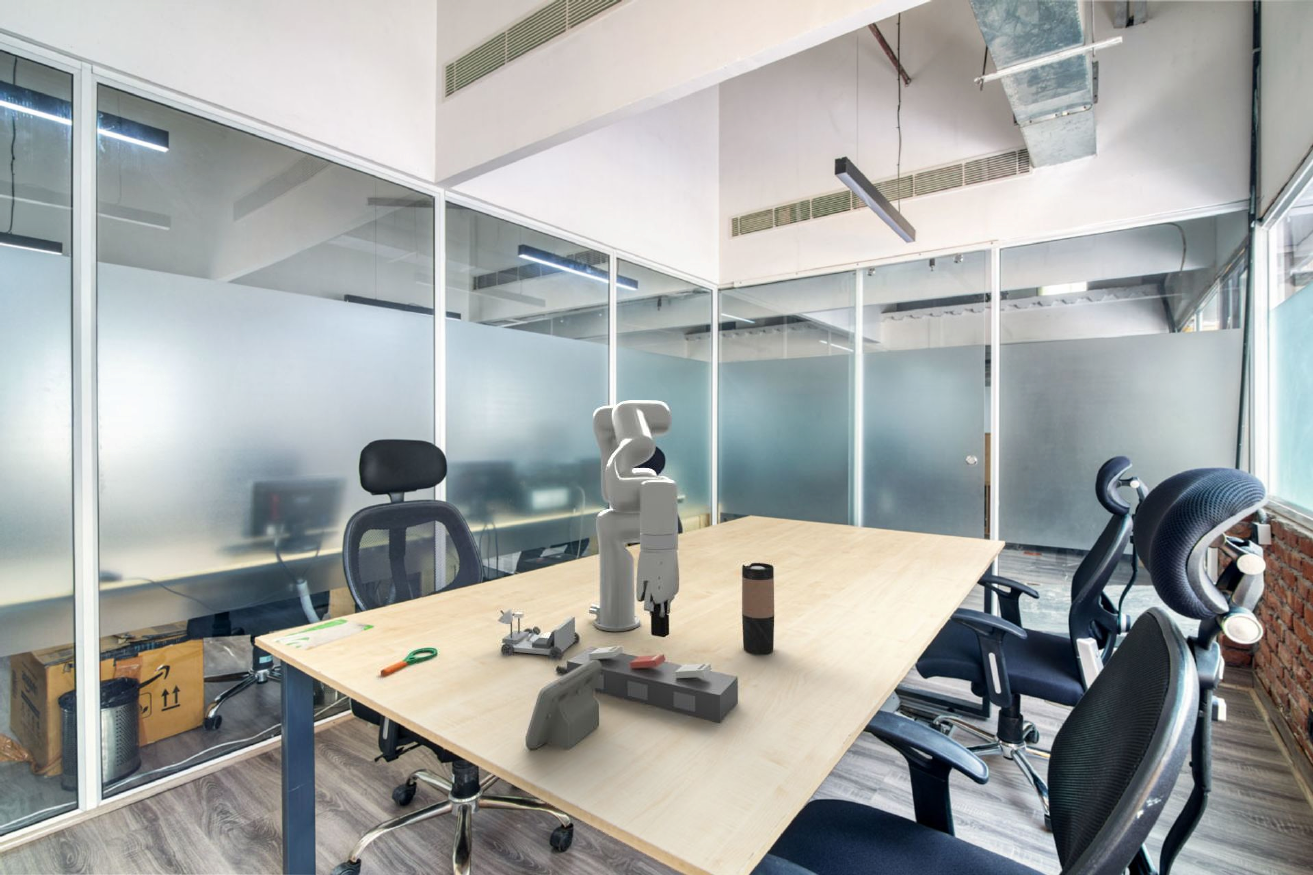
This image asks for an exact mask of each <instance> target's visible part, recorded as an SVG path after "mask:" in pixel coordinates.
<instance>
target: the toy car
mask: <svg viewBox="0 0 1313 875" xmlns="http://www.w3.org/2000/svg"><path fill="white" fill-rule="evenodd" d="M500 613H501V614H502V616H500V617H499V618H498V619H497V621H498V623H501V624H505V625H510V633H509V634H507V635H506V636H505V637H503V638H502V639H501V640H502V642H501V643H502V645H501V648H500V651H501V653H502V655H506V656H507V655H508V656H511V655H513V653H515V652H517V653H526V654H527V653H528V654H538V655H545V656H546V655H548V656H549V658H550V659H551V660H558V661H559V660H561V659H562V658H563V652H564V651H565V650H567V649H568V648H569V647H570V646H571V645H572V644H578V643H579V642H580V639H581V637H580V635H579V633H578V632H576V617H575V616H570V617H569V618H568V619H566V620H565V621H564V622H562V623H561V624H560V625H558V626H556V627H555V629H553V631H551V632H550V631H546V632H545V633H543V634H542V633H541V628H539V627H538V626H534V627H533V628H529V627H527V628H525V629H524V630H522V631H521V628H520V627H521V623H520V622H521V620H520V619H523V618H524V612H517V611H516V612H514V613H513V611H512V608H511V609H509V610H507V611H506V612H504V611H503V610H502V609H500ZM514 618H517V624H518V626H517V630H513V621H514Z"/></svg>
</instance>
